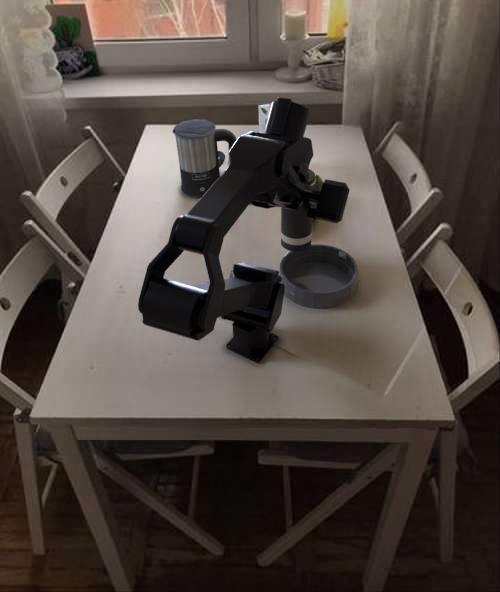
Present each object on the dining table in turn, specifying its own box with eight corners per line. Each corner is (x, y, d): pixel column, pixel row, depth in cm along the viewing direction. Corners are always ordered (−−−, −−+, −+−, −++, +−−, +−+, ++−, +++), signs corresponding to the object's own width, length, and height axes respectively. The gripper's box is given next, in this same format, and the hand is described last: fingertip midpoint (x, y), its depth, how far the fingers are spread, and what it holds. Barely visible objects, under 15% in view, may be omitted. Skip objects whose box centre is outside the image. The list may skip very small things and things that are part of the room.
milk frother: (189, 202, 127) (182, 141, 117) (163, 172, 137) (155, 113, 127) (246, 186, 132) (243, 125, 122) (216, 157, 142) (212, 100, 132)
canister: (308, 254, 101) (311, 185, 92) (277, 249, 103) (277, 181, 93) (314, 236, 105) (318, 168, 96) (284, 231, 107) (285, 164, 97)
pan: (334, 320, 97) (336, 303, 95) (265, 292, 103) (265, 275, 101) (368, 276, 106) (370, 259, 103) (302, 252, 112) (303, 236, 109)
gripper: (352, 138, 83) (363, 170, 97) (235, 119, 88) (262, 152, 103) (332, 211, 82) (346, 233, 97) (216, 188, 88) (246, 211, 103)
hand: (299, 205), depth 100 cm, fingers closed on canister, 5 cm apart
